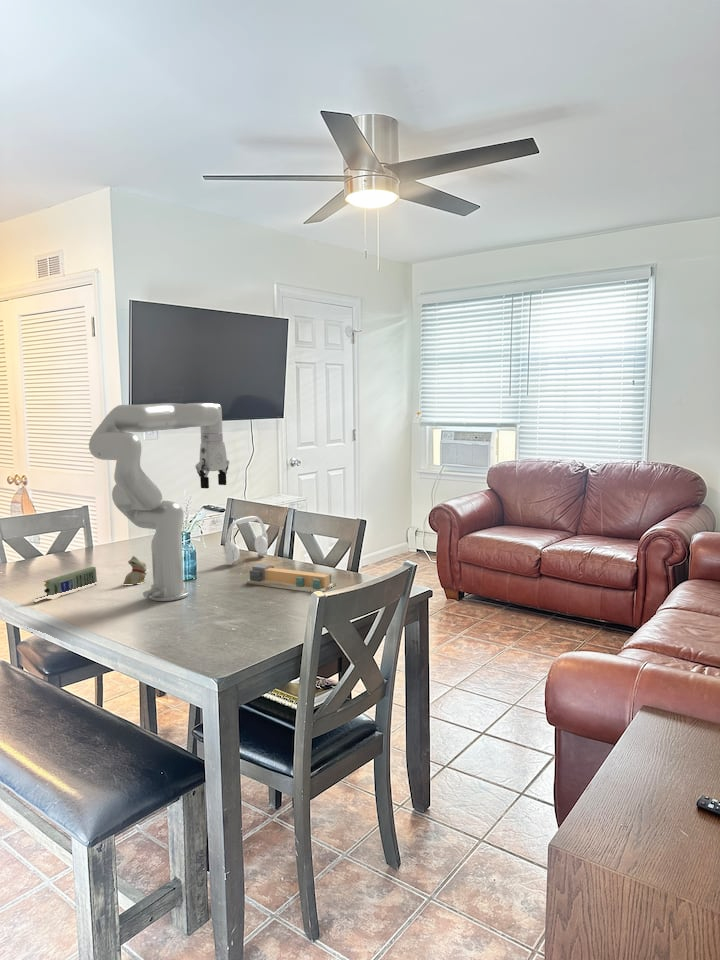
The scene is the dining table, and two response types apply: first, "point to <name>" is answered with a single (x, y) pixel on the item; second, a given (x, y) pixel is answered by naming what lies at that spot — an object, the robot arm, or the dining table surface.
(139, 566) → the chocolate bunny
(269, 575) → the grey-capped wooden beam
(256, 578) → the clip holder
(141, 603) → the dining table surface
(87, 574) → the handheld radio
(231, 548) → the headset
